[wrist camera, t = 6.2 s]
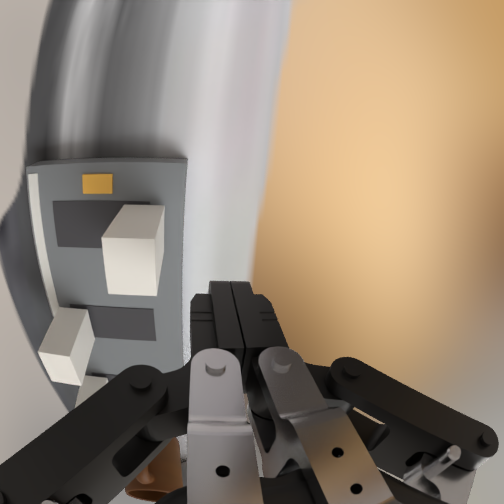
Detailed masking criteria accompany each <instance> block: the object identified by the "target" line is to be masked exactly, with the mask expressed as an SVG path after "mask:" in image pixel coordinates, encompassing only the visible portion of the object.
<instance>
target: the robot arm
mask: <svg viewBox="0 0 504 504" xmlns="http://www.w3.org/2000/svg"><path fill="white" fill-rule="evenodd" d="M190 342H191V358H190V360H189V361H188V363H187V364H186V365H185V366H183V367H182V368H180V369H177V370H174V371H171V372H167V373H162V372H161V371H160V370H158V369H157V368H155V367H152V366H149V365H133V366H130V367H128V368H126V369H125V370H123V371H122V372H121V373H119V374H118V375H117V376H116V377H114V378H113V379H112V380H110V381H109V382H108V383H107V384H105V385H104V386H103V387H102V388H100V389H99V390H98V391H96V392H95V393H94V394H93V395H91V396H90V397H89V398H87V399H86V400H85V401H84V402H82V403H81V404H80V405H78V406H77V407H76V408H75V409H73V410H72V411H71V412H69V413H68V414H67V415H65V417H63V418H62V419H60V420H59V421H58V422H56V423H55V424H54V425H52V426H51V427H50V428H49V429H47V430H46V431H45V432H43V433H42V434H41V435H40V436H38V437H37V438H35V439H34V440H33V441H31V442H30V443H29V444H27V445H26V446H25V447H24V448H22V449H21V450H20V451H18V452H17V453H16V454H14V455H13V456H12V457H10V458H9V459H8V460H6V461H5V462H4V463H2V464H1V465H0V504H108V503H109V502H110V501H111V500H112V499H113V498H114V497H115V496H117V495H118V494H119V493H120V492H121V491H122V490H123V489H124V488H125V487H126V486H127V485H128V484H129V483H130V482H131V481H132V480H133V479H134V478H135V477H136V476H137V475H138V474H139V473H140V472H141V471H142V470H143V469H144V468H145V467H146V466H147V465H148V464H149V463H150V462H151V461H152V460H153V459H154V458H155V457H156V456H157V455H158V454H159V453H160V452H161V451H162V450H163V449H164V448H165V447H166V445H167V444H168V443H169V442H170V441H171V440H172V438H174V437H177V436H181V435H184V434H187V461H186V462H182V463H181V468H182V479H183V487H181V488H178V489H176V490H174V491H172V492H170V493H168V494H166V495H165V496H163V497H162V498H161V499H159V500H158V501H157V502H156V503H155V504H467V501H468V498H469V494H470V491H471V488H472V484H473V481H474V477H475V473H476V470H477V468H478V467H479V466H481V465H482V464H483V463H485V462H486V461H487V460H488V459H490V458H491V457H492V456H493V455H494V454H495V453H496V452H497V450H498V445H499V442H498V437H497V435H496V433H495V432H494V430H493V429H492V428H490V427H489V426H487V425H485V424H483V423H481V422H479V421H477V420H474V419H472V418H470V417H468V416H466V415H464V414H462V413H460V412H457V411H456V410H454V409H452V408H449V407H447V406H446V405H443V404H442V403H440V402H437V401H435V400H434V399H431V398H430V397H427V396H426V395H423V394H422V393H420V392H418V391H416V390H414V389H412V388H410V387H408V386H406V385H404V384H402V383H400V382H398V381H397V380H395V379H393V378H391V377H389V376H387V375H386V374H383V373H382V372H380V371H378V370H376V369H374V368H373V367H371V366H368V365H367V364H365V363H363V362H362V361H360V360H357V359H355V358H351V357H342V358H338V359H336V360H335V361H334V362H333V363H332V365H331V367H326V366H318V365H313V364H308V363H305V362H304V361H303V359H302V358H301V356H300V355H299V354H298V353H297V352H295V351H294V350H292V349H289V347H288V344H287V342H286V339H285V337H284V334H283V332H282V329H281V327H280V324H279V322H278V321H277V317H276V314H275V313H274V309H273V307H272V304H271V302H270V301H269V300H268V299H267V298H266V297H264V296H263V295H262V294H258V295H257V294H256V295H255V294H253V291H252V288H251V285H250V282H245V281H230V282H229V281H210V282H209V293H208V294H195V296H194V297H193V299H192V300H191V306H190ZM245 393H247V397H248V401H249V402H248V406H247V414H248V417H249V420H250V423H251V424H250V423H248V422H247V419H246V412H245V404H244V396H243V394H245ZM354 407H356V408H357V409H359V410H361V411H363V412H365V413H367V414H368V415H370V416H372V417H373V418H375V419H377V420H379V421H381V422H383V423H385V424H379V423H376V422H375V421H373V420H371V419H369V418H367V417H365V416H364V415H362V414H360V413H358V412H357V411H355V410H353V408H354ZM252 429H253V430H252ZM253 432H254V435H255V439H256V441H257V444H258V447H259V450H260V453H261V457H262V470H263V475H264V477H259V472H258V464H257V457H256V450H255V444H254V436H253ZM377 467H379V468H380V469H383V470H385V471H386V472H389V473H391V474H393V475H395V476H397V477H399V478H401V479H403V480H404V481H403V482H401V481H400V480H398V479H396V478H394V477H392V476H390V475H388V474H386V473H385V472H383V471H380V470H379V469H378V468H377Z"/></svg>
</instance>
